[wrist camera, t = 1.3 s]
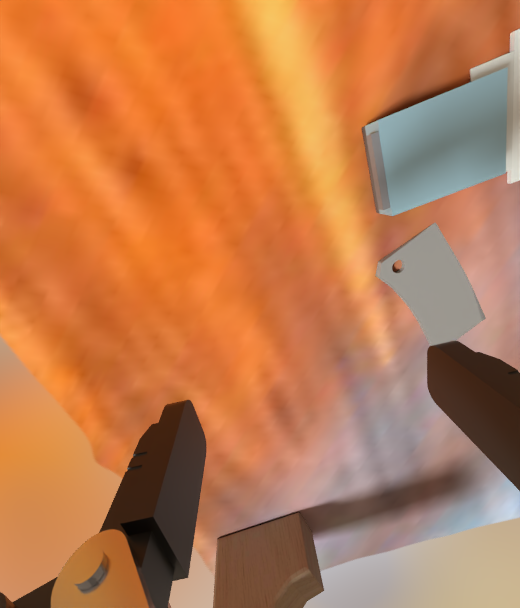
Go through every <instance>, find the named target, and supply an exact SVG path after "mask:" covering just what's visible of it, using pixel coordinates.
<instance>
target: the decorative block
mask: <svg viewBox="0 0 520 608" xmlns="http://www.w3.org/2000/svg"><path fill="white" fill-rule="evenodd" d="M323 591H324V588H323V583H322V579H321V574H320V569H319V564H318V559H317V555H316V550H315V545H314V540H313V535H312V532H311V530H310V528H309V527H308V525H307V523H306V522H305V520H304V519H303V517H302V515H301V514H300V512H299V513H295V514H292V515H289V516H286V517H283V518H280V519H277V520H274V521H271V522H268V523H265V524H262V525H259V526H256V527H253V528H250V529H247V530H244V531H241V532H237V533H234V534H231V535H228V536H225V537H222V538H219V539H217V553H216V569H215V586H214V602H213V608H303V607H304V605H305V603H306V602H307V601H308V600H310V599H311V598H313V597H315V596H316V595H318V594H319V593H321V592H323Z"/></svg>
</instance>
